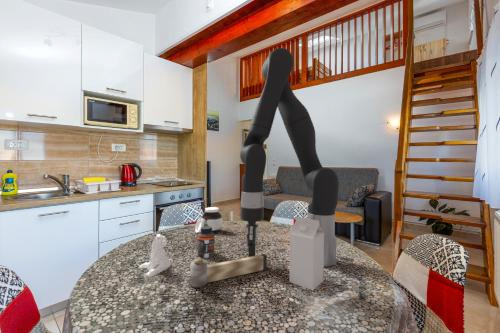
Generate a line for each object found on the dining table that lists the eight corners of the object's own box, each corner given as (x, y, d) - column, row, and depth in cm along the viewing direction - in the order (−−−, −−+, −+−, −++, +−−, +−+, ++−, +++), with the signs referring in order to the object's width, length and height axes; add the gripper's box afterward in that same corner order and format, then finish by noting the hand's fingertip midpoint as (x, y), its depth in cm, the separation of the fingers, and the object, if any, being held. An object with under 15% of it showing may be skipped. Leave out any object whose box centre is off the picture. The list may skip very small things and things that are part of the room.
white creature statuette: (137, 270, 76) (137, 233, 76) (164, 263, 81) (164, 228, 81) (146, 282, 68) (146, 241, 68) (175, 273, 74) (175, 235, 74)
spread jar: (224, 230, 121) (224, 208, 121) (209, 236, 111) (209, 212, 111) (206, 227, 127) (206, 205, 127) (191, 232, 118) (191, 209, 118)
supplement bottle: (210, 262, 83) (211, 230, 82) (194, 260, 84) (195, 228, 84) (216, 255, 88) (216, 225, 88) (201, 254, 90) (201, 224, 90)
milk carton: (300, 277, 72) (301, 215, 72) (323, 284, 68) (324, 218, 68) (289, 286, 67) (289, 219, 67) (312, 295, 62) (313, 223, 62)
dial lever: (192, 289, 62) (192, 264, 62) (188, 281, 66) (188, 258, 66) (268, 271, 73) (269, 250, 73) (261, 265, 77) (262, 245, 76)
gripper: (263, 209, 71) (263, 266, 71) (263, 202, 84) (263, 250, 85) (238, 208, 72) (238, 265, 72) (242, 201, 85) (242, 249, 85)
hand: (251, 257), depth 78 cm, fingers closed
